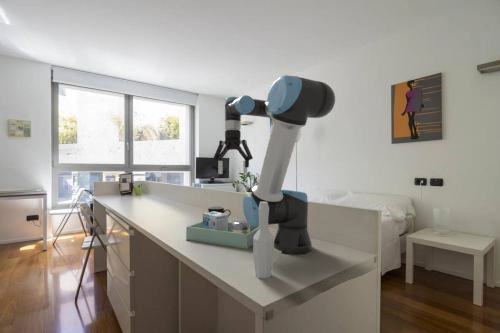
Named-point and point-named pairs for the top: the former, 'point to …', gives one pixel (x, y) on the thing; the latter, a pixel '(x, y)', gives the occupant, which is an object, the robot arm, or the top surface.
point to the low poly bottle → (263, 244)
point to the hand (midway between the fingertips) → (232, 174)
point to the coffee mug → (218, 209)
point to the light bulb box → (215, 221)
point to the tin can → (240, 227)
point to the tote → (221, 235)
